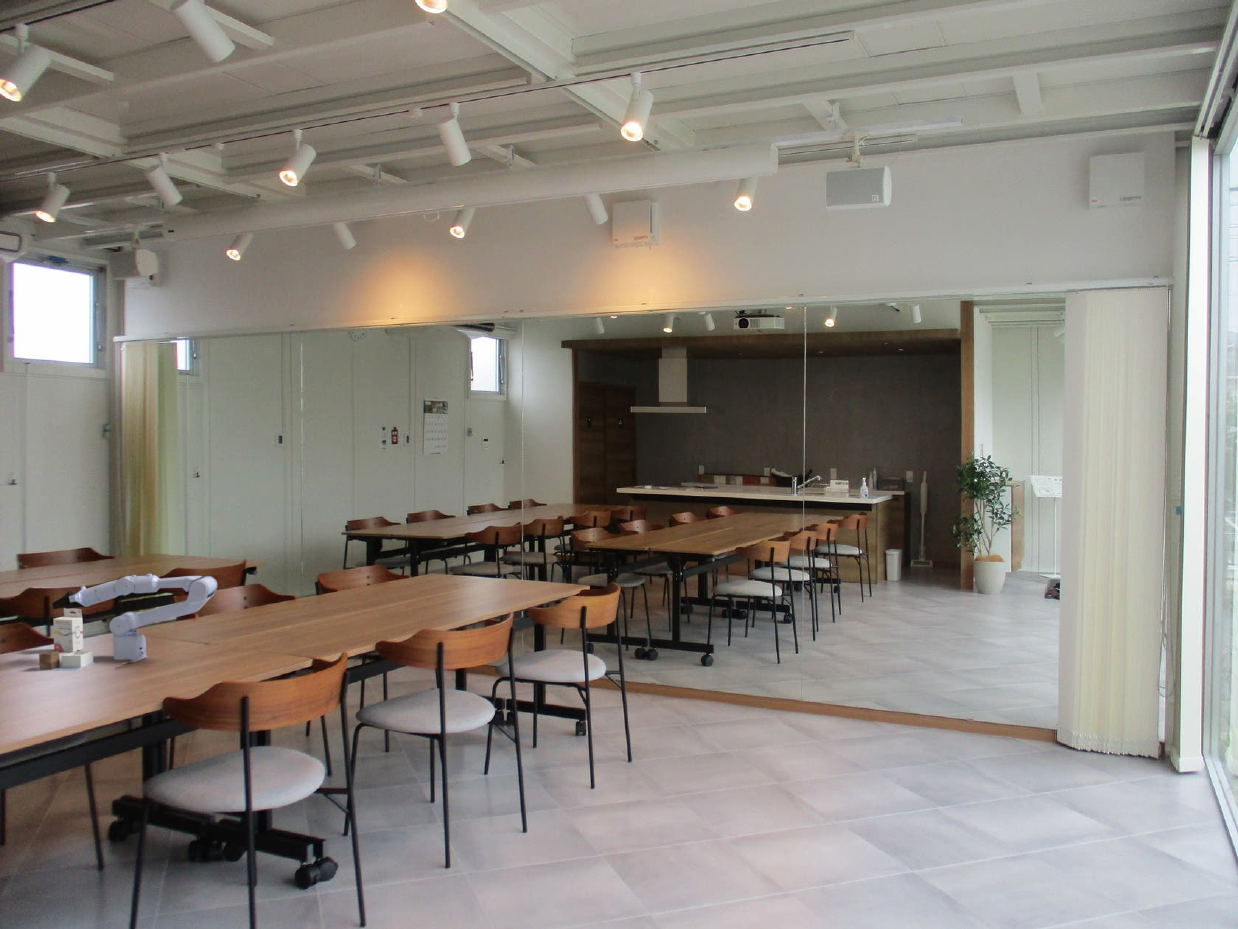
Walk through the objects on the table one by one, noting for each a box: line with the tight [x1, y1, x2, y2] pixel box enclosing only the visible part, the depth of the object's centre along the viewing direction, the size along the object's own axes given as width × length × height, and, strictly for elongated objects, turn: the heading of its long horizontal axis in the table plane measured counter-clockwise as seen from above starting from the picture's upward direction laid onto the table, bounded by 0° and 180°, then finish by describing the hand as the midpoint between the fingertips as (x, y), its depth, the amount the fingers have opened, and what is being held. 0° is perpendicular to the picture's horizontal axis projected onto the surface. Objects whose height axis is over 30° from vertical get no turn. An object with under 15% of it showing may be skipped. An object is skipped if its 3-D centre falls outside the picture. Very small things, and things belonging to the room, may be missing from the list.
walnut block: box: [38, 650, 61, 670], centre depth 302 cm, size 4×4×5 cm
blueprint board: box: [34, 650, 98, 672], centre depth 304 cm, size 14×11×5 cm
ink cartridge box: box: [53, 608, 84, 653], centre depth 332 cm, size 9×5×15 cm, turn 74°
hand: (59, 606), depth 314 cm, fingers open, 7 cm apart
